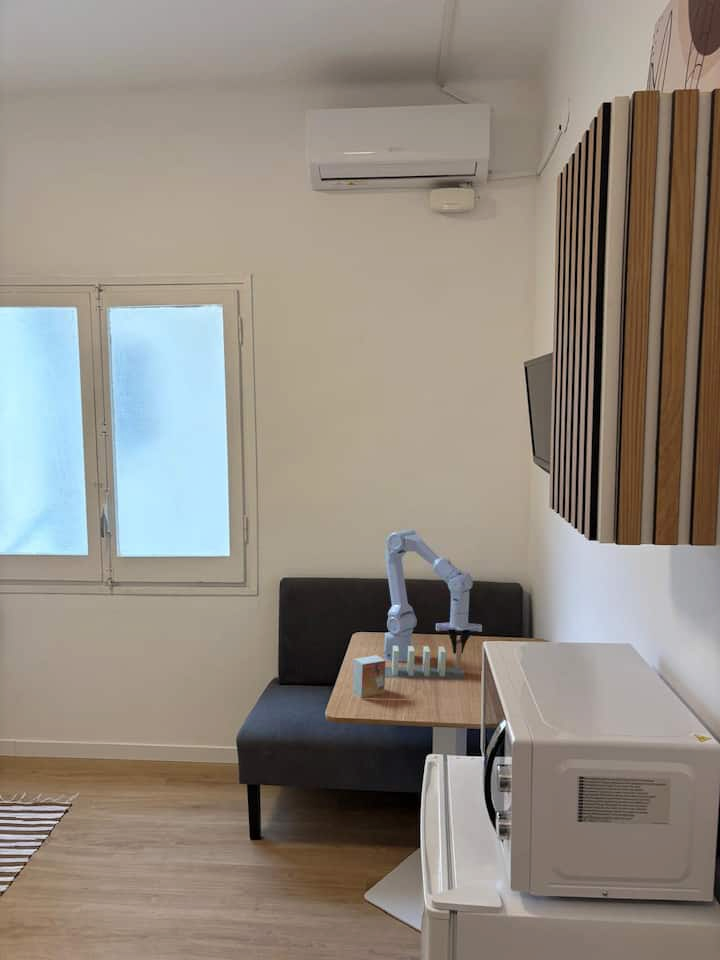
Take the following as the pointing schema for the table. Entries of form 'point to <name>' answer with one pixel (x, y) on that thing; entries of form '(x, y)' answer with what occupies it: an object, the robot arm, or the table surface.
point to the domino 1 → (395, 660)
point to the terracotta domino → (458, 654)
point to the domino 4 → (441, 661)
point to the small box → (369, 676)
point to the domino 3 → (426, 660)
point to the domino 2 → (410, 661)
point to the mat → (418, 673)
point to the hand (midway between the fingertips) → (457, 652)
